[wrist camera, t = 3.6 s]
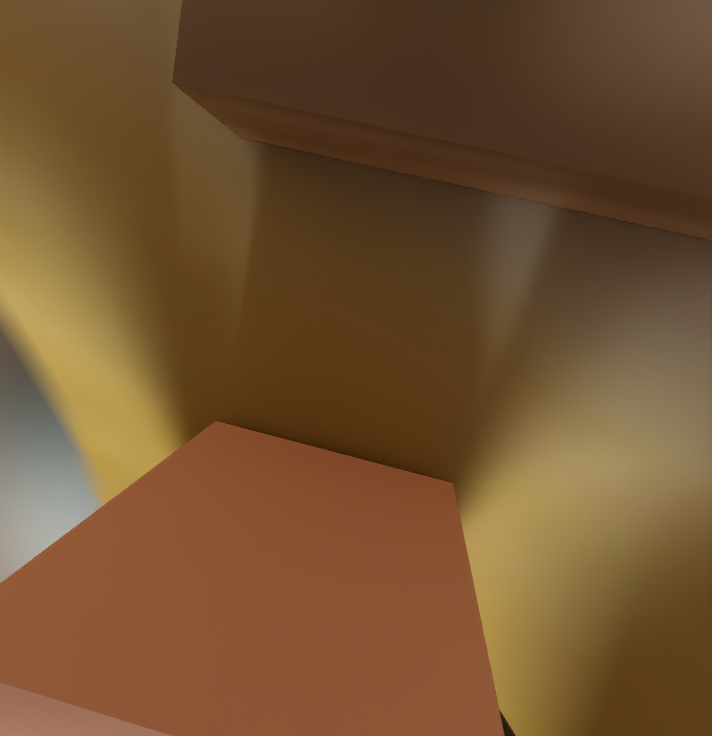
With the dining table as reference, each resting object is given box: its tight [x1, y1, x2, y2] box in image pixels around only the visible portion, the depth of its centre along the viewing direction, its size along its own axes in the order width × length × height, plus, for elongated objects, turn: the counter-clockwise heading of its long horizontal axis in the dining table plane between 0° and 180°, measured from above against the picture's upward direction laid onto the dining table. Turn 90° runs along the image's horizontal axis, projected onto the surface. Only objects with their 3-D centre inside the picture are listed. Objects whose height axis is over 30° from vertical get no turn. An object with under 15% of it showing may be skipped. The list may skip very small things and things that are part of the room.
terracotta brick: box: [0, 421, 504, 736], centre depth 7 cm, size 5×5×6 cm
